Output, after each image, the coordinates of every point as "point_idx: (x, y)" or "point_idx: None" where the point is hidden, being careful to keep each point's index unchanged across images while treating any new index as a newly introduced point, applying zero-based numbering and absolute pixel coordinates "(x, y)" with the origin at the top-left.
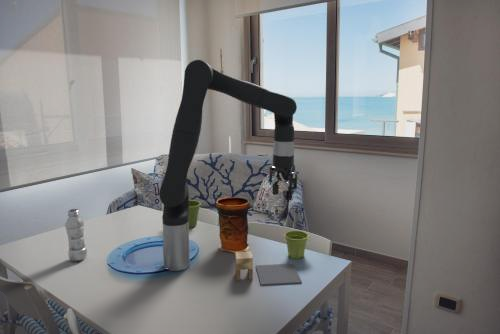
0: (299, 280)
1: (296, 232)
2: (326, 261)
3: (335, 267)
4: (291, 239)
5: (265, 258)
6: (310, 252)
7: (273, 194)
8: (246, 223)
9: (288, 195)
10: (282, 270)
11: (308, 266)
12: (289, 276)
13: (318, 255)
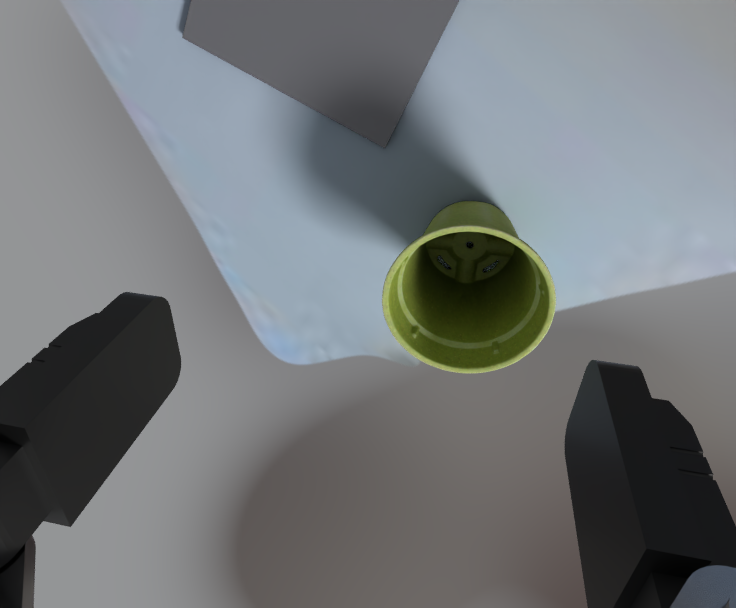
0: (199, 36)
1: (518, 344)
2: (325, 305)
3: (257, 291)
4: (431, 232)
5: (567, 54)
6: None
7: (611, 364)
8: None
9: (45, 360)
10: (345, 29)
11: (326, 201)
12: (261, 15)
13: None
